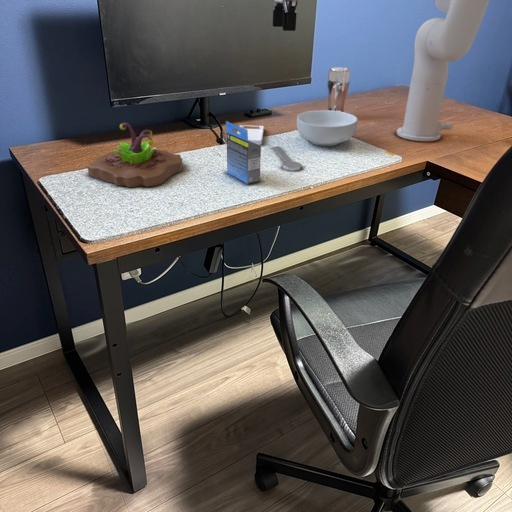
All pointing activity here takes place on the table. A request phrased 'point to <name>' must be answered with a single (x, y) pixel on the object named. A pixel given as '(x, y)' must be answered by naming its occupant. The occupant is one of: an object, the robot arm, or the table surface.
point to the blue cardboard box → (242, 155)
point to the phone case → (254, 134)
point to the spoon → (287, 161)
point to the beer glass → (338, 88)
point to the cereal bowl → (326, 126)
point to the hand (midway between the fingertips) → (283, 28)
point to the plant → (136, 163)
